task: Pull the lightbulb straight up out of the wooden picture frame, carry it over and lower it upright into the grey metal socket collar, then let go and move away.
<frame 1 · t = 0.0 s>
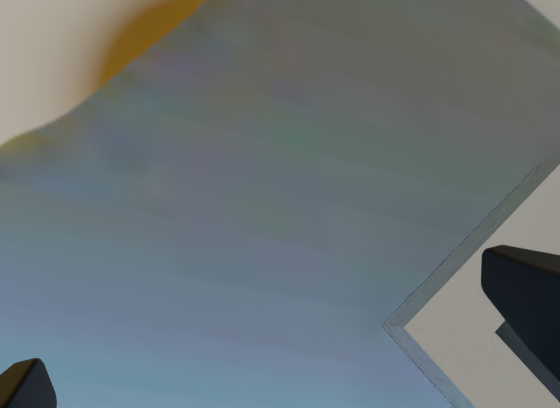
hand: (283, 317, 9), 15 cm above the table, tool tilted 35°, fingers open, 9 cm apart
socket: (551, 333, 25), on the table
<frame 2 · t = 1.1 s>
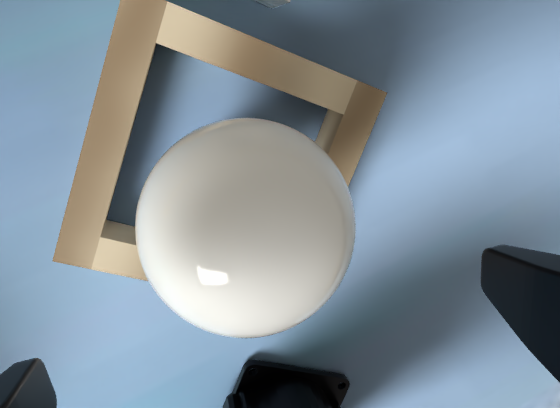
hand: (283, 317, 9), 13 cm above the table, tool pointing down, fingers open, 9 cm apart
wooden picture frame: (219, 163, 20), on the table
lightbulb: (218, 162, 21), resting in wooden picture frame
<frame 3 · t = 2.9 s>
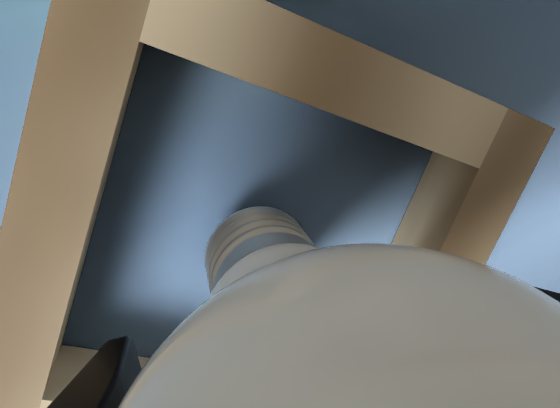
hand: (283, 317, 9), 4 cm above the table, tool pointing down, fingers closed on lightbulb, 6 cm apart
wooden picture frame: (252, 244, 12), on the table
lightbulb: (251, 241, 12), resting in wooden picture frame, touching gripper
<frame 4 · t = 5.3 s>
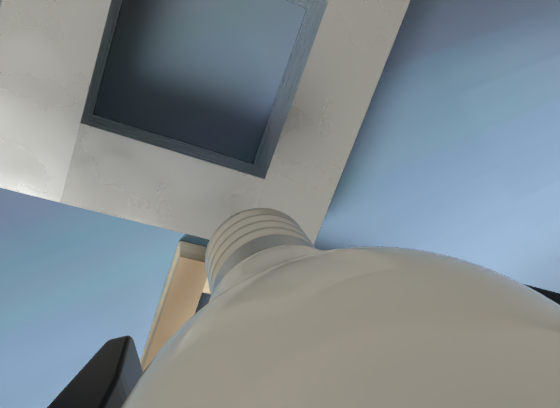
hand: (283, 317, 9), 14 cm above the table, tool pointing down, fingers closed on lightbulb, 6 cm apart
wooden picture frame: (247, 351, 25), on the table
lightbulb: (251, 243, 12), point 10 cm above the table, touching gripper
socket: (201, 60, 20), on the table
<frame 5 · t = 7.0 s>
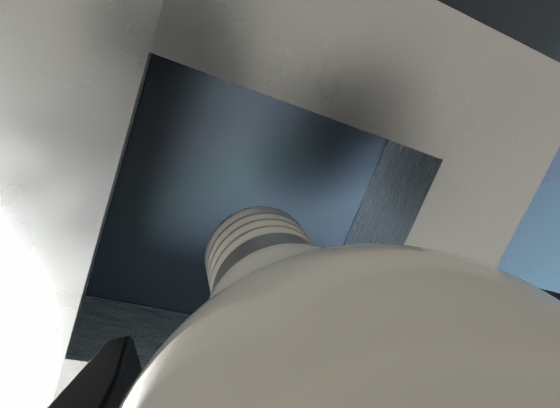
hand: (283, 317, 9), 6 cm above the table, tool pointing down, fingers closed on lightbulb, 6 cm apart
lightbulb: (251, 241, 12), point 2 cm above the table, touching gripper
socket: (240, 214, 14), on the table
when the fingers open (4 cm above the table, at t = 8.1 s): lightbulb stays where it is, resting in socket.
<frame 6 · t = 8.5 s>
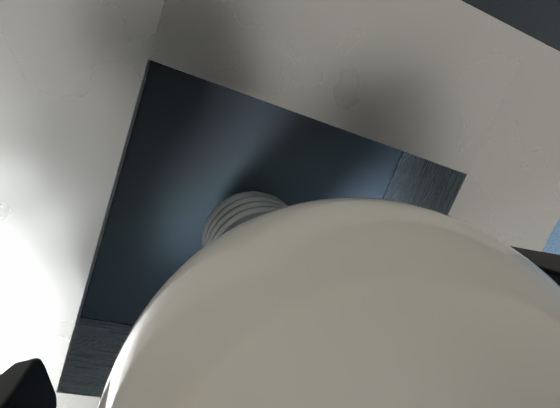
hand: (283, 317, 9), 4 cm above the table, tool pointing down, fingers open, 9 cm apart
lightbulb: (245, 226, 13), resting in socket
socket: (246, 230, 13), on the table
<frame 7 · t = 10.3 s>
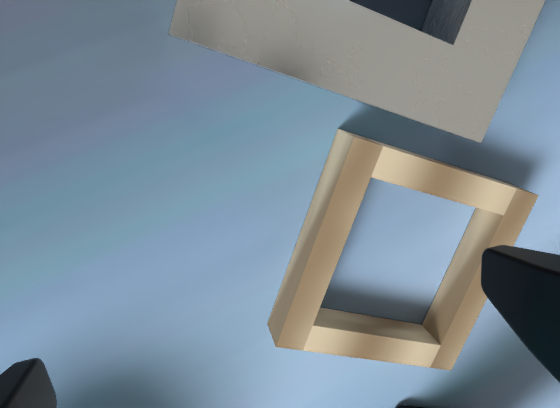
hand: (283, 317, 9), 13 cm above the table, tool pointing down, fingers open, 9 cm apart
wooden picture frame: (391, 252, 25), on the table
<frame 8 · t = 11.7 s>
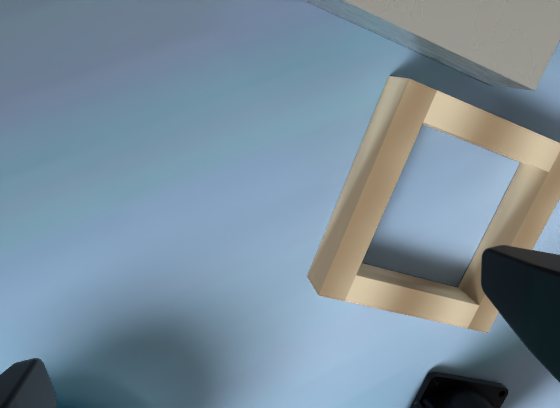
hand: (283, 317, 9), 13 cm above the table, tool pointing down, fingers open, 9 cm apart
wooden picture frame: (432, 209, 24), on the table
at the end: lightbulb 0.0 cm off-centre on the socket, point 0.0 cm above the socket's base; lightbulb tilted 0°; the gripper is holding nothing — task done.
